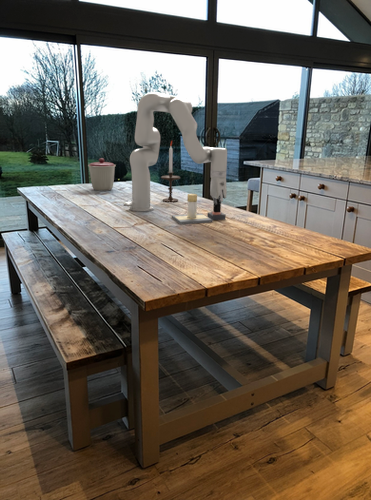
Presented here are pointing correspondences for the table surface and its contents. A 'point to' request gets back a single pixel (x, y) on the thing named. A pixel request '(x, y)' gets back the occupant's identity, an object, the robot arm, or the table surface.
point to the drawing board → (191, 219)
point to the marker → (192, 205)
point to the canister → (102, 175)
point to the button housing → (216, 216)
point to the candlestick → (170, 178)
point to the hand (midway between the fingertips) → (216, 211)
